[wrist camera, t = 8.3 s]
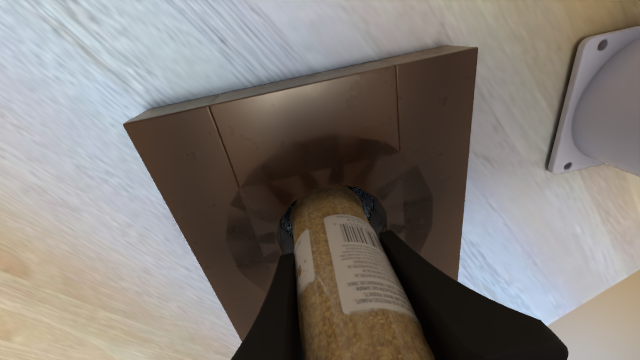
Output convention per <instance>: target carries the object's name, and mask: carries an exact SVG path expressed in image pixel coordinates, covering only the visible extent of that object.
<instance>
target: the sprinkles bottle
mask: <svg viewBox="0 0 640 360" xmlns="http://www.w3.org/2000/svg"><path fill="white" fill-rule="evenodd" d="M290 223H291V227H292V230H293V236H294V246H295V249H294V257H295V271H296V288H297V302H298V313H299V327H300V336H301V343H302V347H303V351H304V360H435V357H434V355H433V353H432V351H431V349H430V347H429V345H428V343H427V341H426V339H425V337H424V334H423V329H422V327H421V324H420V322H419V320H418V318H417V316H416V314H415V312H414V310H413V308H412V306H411V304H410V302H409V300H408V298H407V295H406V293H405V291H404V289H403V287H402V285H401V283H400V281H399V279H398V277H397V275H396V273H395V271H394V269H393V267H392V265H391V263H390V261H389V259H388V257H387V255H386V253H385V251H384V249H383V247H382V245H381V243H380V241H379V239H378V237H377V235H376V233H375V231H374V230H373V228H372V227H371V225H370V223H369V222H368V219H367V218H366V216H365V214H364V209H363V204H362V202H361V200H360V198H359V196H358V195H357V194H355V192H354V191H353V190H351V189H349V188H348V187H346V186H343V185H333V186H329V187H324V188H320V189H315V190H312V191H310V192H309V193H307V194H305V195H304V196H302V197H301V198H299V199H297V200H296V202H295V203H294V205H293V207H292V209H291V213H290Z"/></svg>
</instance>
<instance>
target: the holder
mask: <svg viewBox="0 0 640 360" xmlns="http://www.w3.org/2000/svg"><path fill="white" fill-rule="evenodd" d="M477 54H478V48H477V47H464V46H448V45H446V46H441V47H437V48H432V49H427V50H423V51H418V52H413V53H409V54H404V55H399V56H395V57H390V58H385V59H381V60H378V61H377V60H376V61H371V62H367V63H362V64H357V65H353V66H348V67H343V68H339V69H334V70H329V71H325V72H320V73H315V74H311V75H306V76H301V77H297V78H292V79H287V80H283V81H278V82H273V83H269V84H264V85H259V86H255V87H250V88H246V89H241V90H236V91H232V92H227V93H222V94H220V95H219V94H218V95H213V96H209V97H204V98H199V99H195V100H190V101H185V102H181V103H176V104H171V105H167V106H162V107H157V108H153V109H148V110H147V111H145V112H143V113H141V114H139V115H138V116H136V117H134V118H132V119H131V120H129V121H127V122H125V123H124V124H123V126H124V128H125V130H126V131H127V133H128V135H129V137H130V139H131V141H132V142H133V144H134V146H135V148H136V150H137V151H138V153H139V155H140V157H141V159H142V161H143V162H144V164H145V166H146V168H147V170H148V171H149V173H150V175H151V177H152V179H153V181H154V182H155V184H156V186H157V188H158V190H159V191H160V193H161V195H162V197H163V199H164V201H165V202H166V204H167V206H168V208H169V210H170V211H171V213H172V215H173V217H174V219H175V221H176V222H177V224H178V226H179V228H180V230H181V231H182V233H183V235H184V237H185V239H186V241H187V242H188V244H189V246H190V248H191V250H192V251H193V253H194V255H195V257H196V259H197V261H198V262H199V264H200V266H201V268H202V270H203V271H204V273H205V275H206V277H207V279H208V281H209V282H210V284H211V286H212V288H213V290H214V291H215V293H216V295H217V297H218V299H219V301H220V302H221V304H222V306H223V308H224V310H225V311H226V313H227V315H228V317H229V319H230V321H231V322H232V324H233V326H234V328H235V330H236V331H237V333H238V335H239V337H240V339H241V341H242V342H243V340H244V338H245V337H246V335H247V333H248V332H249V330H250V328H251V326H252V324H253V323H254V321H255V319H256V317H257V315H258V313H259V311H260V309H261V306H262V304H263V302H264V300H265V297H266V295H267V293H268V290H269V287H270V285H271V282H272V280H273V277H274V274H275V271H276V268H277V264H278V260H279V257H280V256H281V255H284V254H288V253H293V254H294V249H295V246H294V239H293V238H292V237H291V236H290V234H289V233H288V232H287V231H286V230H285V229H284V228H283V227H282V224H281V221H280V220H281V218H282V216H283V215H284V214H285V212H286V211H287V209H288V208H289V207H290V205H291V204H292V203H293V202H294V201H296V200H297V199H299V198H301V197H302V196H304V195H305V194H307V193H309V192H310V191H312V190H315V189H320V188H324V187H329V186H333V185H343V186H351V187H358V188H360V189H361V190H363V191H365V192H367V193H368V194H370V195H372V196H373V200H374V208H373V211H372V214H371V217H370V220H369V223H370V225H371V227H372V228H373V230H374V231H375V233H376V235H377V237H378V239H379V232H384V231H388V230H392V231H394V232H395V233H396V234H397V235H398V236H399V237H400V238H401V239H402V240H403V241H404V242H405V243H406V244H408V245H409V246H410V247H411V248H412V249H413V250H414V251H416V252H417V253H418V254H419V255H421V256H422V257H423V258H424V259H426V260H427V261H428V262H430V263H431V264H432V265H434V266H435V267H436V268H438V269H439V270H441V271H442V272H444V273H445V274H447V275H448V276H450V277H451V278H453V279H454V280H456V281H458V270H459V259H460V247H461V236H462V225H463V213H464V202H465V191H466V179H467V168H468V157H469V145H470V134H471V122H472V111H473V100H474V88H475V77H476V66H477ZM379 241H380V239H379Z"/></svg>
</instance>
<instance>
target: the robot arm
mask: <svg viewBox="0 0 640 360" xmlns="http://www.w3.org/2000/svg"><path fill="white" fill-rule="evenodd" d="M599 43H600V44H599ZM598 45H599V46H598ZM605 163H606V164H608V165H611V166H613V167H616V168H618V169H621V170H623V171H626V172H629V173H631V174H634V175H636V176H639V177H640V26H635V27H631V28H626V29H621V30H617V31H612V32H607V33H603V34H598V35H594V36H589V37H587V38H585V39H584V40H583V41H582V42H581V43H580V44H579V46H578V49H577V53H576V57H575V61H574V65H573V69H572V73H571V77H570V81H569V85H568V89H567V93H566V97H565V101H564V105H563V110H562V114H561V118H560V122H559V126H558V130H557V134H556V138H555V142H554V146H553V150H552V154H551V158H550V162H549V166H548V170H549V172H551V173H553V174H562V173H566V172H570V171H575V170H579V169H583V168H588V167H592V166H597V165H601V164H605ZM379 239H380V243H381V245H382V247H383V249H384V251H385V253H386V255H387V257H388V259H389V261H390V263H391V265H392V267H393V269H394V271H395V273H396V275H397V277H398V279H399V281H400V283H401V285H402V287H403V289H404V291H405V293H406V295H407V298H408V300H409V302H410V304H411V306H412V308H413V310H414V312H415V314H416V316H417V318H418V320H419V322H420V324H421V327H422V329H423V334H424V337H425V339H426V341H427V343H428V345H429V347H430V349H431V351H432V353H433V355H434V357H435V360H567V358H568V349H567V347H566V346H565V345H564V344H563V342H562V341H561V340H560V339H559V338H558V337H557V336H556V335H555V334H554V333H553V332H552V331H551V330H550V329H549V328H548V327H547V326H546V325H545V324H544V323H543V322H542V321H541V320H538V319H536V318H533V317H531V316H528V315H526V314H523V313H521V312H518V311H516V310H513V309H511V308H508V307H506V306H504V305H502V304H499V303H497V302H495V301H493V300H491V299H489V298H487V297H485V296H483V295H481V294H479V293H477V292H475V291H473V290H471V289H469V288H468V287H466V286H464V285H463V284H461V283H459V282H458V281H456V280H454V279H453V278H451V277H450V276H448V275H447V274H445V273H444V272H442V271H441V270H439V269H438V268H436V267H435V266H434V265H432V264H431V263H430V262H428V261H427V260H426V259H424V258H423V257H422V256H421V255H419V254H418V253H417V252H416V251H414V250H413V249H412V248H411V247H410V246H409V245H408V244H406V243H405V242H404V241H403V240H402V239H401V238H400V237H399V236H398V235H397V234H396V233H395V232H394V231H392V230H388V231H384V232H379ZM231 360H304V351H303V347H302V343H301V336H300V327H299V313H298V302H297V288H296V271H295V257H294V254H293V253H288V254H284V255H281V256H280V257H279V260H278V264H277V268H276V271H275V274H274V277H273V280H272V282H271V285H270V287H269V290H268V293H267V295H266V297H265V300H264V302H263V304H262V306H261V309H260V311H259V313H258V315H257V317H256V319H255V321H254V323H253V324H252V326H251V328H250V330H249V332H248V333H247V335H246V337H245V338H244V340H243V342H242V343H241V345H240V347H239V348H238V350H237V351H236V353H235V354H234V356H233V357H232V359H231Z"/></svg>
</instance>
